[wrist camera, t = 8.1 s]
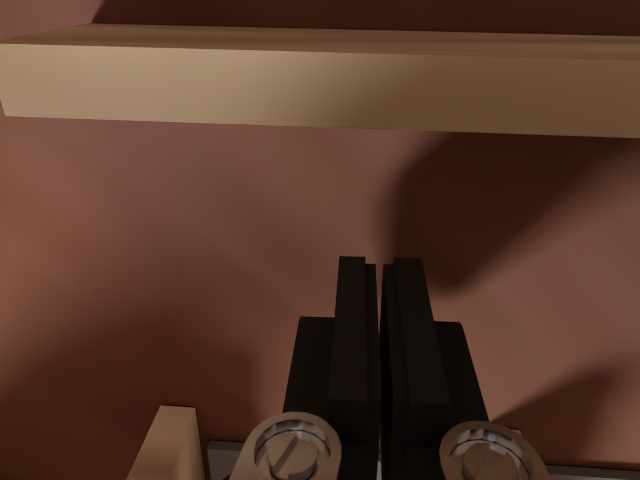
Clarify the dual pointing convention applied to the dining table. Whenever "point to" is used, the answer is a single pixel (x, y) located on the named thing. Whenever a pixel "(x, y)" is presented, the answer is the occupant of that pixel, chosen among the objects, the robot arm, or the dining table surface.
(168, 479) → the lane box
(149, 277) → the dining table surface
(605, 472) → the pads
